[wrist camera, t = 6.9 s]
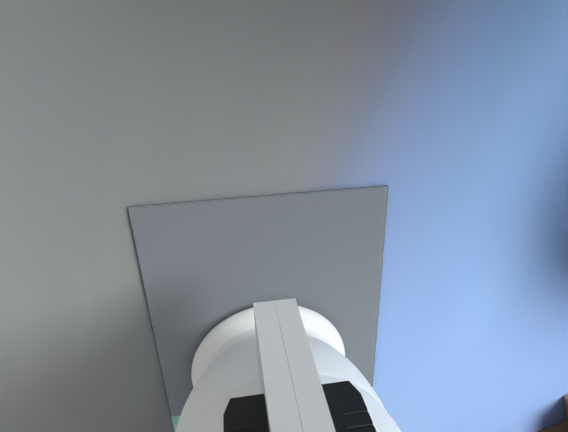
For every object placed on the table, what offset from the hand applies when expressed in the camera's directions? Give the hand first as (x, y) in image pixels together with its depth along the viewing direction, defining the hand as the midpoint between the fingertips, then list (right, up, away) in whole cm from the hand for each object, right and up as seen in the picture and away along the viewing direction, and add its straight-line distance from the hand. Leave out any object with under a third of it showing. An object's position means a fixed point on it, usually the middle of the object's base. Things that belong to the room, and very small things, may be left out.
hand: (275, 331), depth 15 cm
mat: (0, -7, +9) cm, 11 cm away
